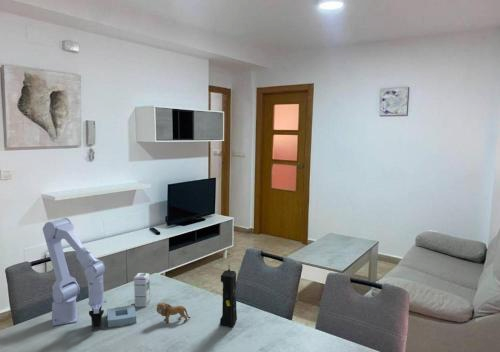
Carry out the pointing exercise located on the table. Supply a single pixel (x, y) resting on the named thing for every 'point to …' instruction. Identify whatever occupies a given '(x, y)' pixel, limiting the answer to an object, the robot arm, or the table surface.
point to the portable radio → (228, 299)
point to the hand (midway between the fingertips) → (97, 322)
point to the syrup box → (142, 289)
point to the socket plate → (121, 316)
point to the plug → (96, 327)
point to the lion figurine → (171, 311)
